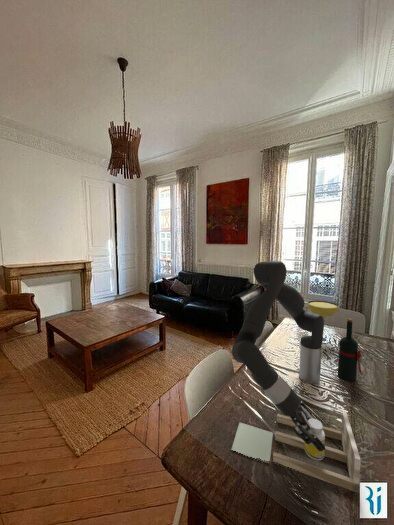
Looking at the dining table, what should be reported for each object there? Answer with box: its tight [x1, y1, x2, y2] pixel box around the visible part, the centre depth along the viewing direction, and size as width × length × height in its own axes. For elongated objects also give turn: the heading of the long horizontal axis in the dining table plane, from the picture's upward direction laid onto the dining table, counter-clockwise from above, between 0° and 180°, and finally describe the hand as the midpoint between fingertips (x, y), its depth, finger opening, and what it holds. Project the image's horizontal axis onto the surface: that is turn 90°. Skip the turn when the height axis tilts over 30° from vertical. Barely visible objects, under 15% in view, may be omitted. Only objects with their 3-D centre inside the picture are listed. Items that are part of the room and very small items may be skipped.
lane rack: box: [273, 410, 362, 494], centre depth 73 cm, size 18×22×10 cm
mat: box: [230, 421, 274, 462], centre depth 77 cm, size 12×12×1 cm
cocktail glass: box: [307, 300, 339, 341], centre depth 151 cm, size 18×18×25 cm
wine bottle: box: [337, 317, 363, 383], centre depth 109 cm, size 8×10×30 cm
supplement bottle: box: [304, 418, 326, 461], centre depth 68 cm, size 5×5×10 cm
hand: (321, 440), depth 68 cm, fingers closed on supplement bottle, 5 cm apart
